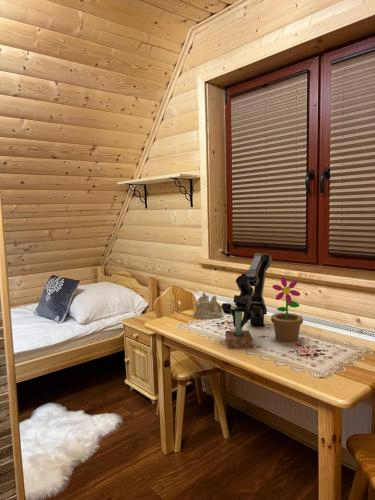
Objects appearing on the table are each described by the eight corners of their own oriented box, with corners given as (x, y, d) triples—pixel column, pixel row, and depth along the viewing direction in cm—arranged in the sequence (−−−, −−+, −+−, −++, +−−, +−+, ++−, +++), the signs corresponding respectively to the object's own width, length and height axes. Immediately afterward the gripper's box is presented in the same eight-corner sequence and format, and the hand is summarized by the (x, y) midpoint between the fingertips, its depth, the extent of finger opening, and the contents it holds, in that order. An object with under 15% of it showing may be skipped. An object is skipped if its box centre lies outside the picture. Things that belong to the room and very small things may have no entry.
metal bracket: (221, 299, 225) (246, 300, 223) (221, 308, 227) (246, 308, 225) (221, 312, 212) (247, 313, 210) (221, 321, 214) (247, 321, 212)
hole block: (249, 338, 173) (249, 330, 173) (252, 347, 162) (252, 338, 162) (225, 339, 174) (225, 330, 173) (227, 347, 163) (227, 339, 162)
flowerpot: (269, 342, 168) (269, 277, 165) (273, 332, 182) (273, 272, 178) (301, 345, 163) (302, 279, 160) (303, 334, 177) (304, 273, 173)
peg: (239, 338, 170) (239, 310, 168) (243, 340, 167) (243, 312, 166) (234, 339, 169) (233, 311, 167) (237, 341, 166) (237, 313, 164)
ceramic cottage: (224, 318, 205) (222, 291, 204) (194, 320, 205) (193, 293, 205) (221, 312, 221) (220, 287, 220) (194, 314, 221) (192, 289, 220)
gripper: (222, 286, 173) (213, 315, 165) (261, 289, 164) (253, 320, 156) (228, 298, 181) (220, 327, 172) (266, 302, 172) (259, 332, 164)
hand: (237, 326), depth 166 cm, fingers closed on peg, 3 cm apart
